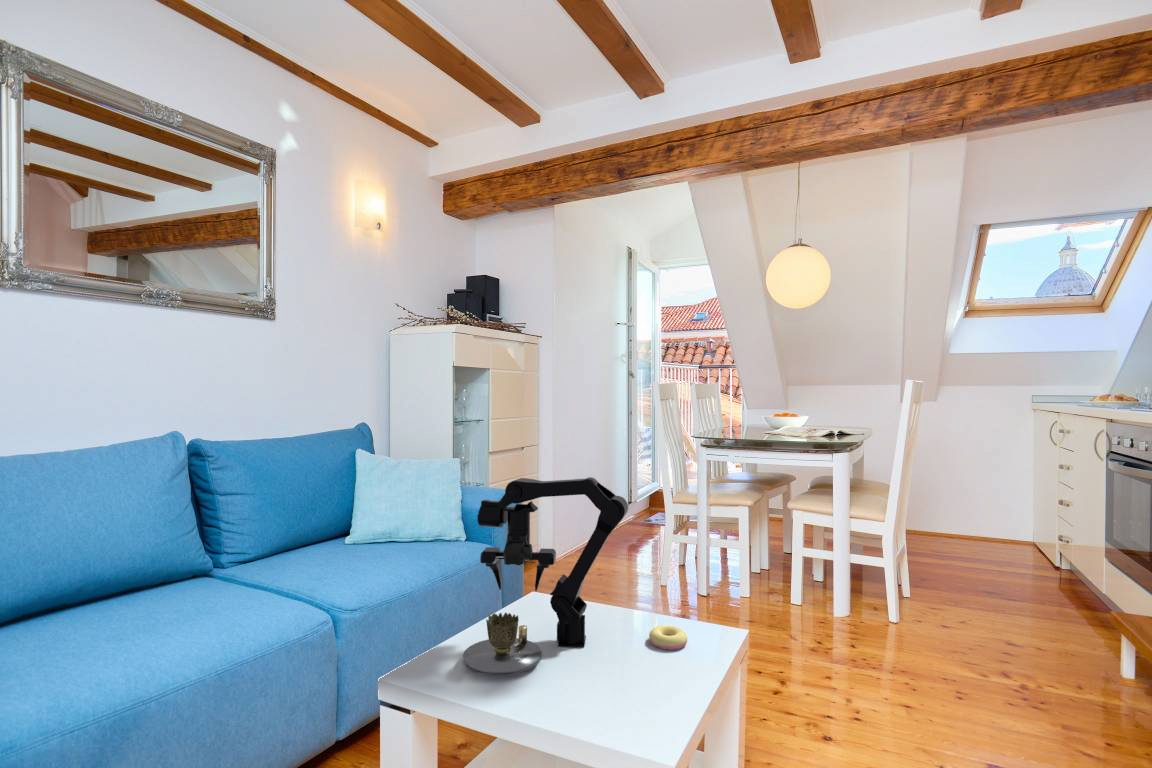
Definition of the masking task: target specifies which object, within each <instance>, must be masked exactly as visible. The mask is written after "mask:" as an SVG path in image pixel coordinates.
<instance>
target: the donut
mask: <svg viewBox="0 0 1152 768" xmlns="http://www.w3.org/2000/svg"><path fill="white" fill-rule="evenodd" d="M648 639H649V641H650V643H651V644H652V645H653V646H654V647H655V648H658V647H659V649H661V648H662V650H665V649H669V650H668V651H674V650H673V649H677V650H681V649H682V648H684V647H685V646H686V645H687V643H688V636H687V633H686V632H685V631H684V630H683V629H682V628H680V627H677V626H674V625H667V624H664V625H657V626H655V627H653V628H652V629H651V630H650V631H649V633H648Z"/></svg>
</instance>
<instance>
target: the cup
mask: <svg viewBox="0 0 1152 768" xmlns="http://www.w3.org/2000/svg"><path fill="white" fill-rule="evenodd" d="M487 618H488V619H487ZM487 618H486V619H485V621H486V628H487V629H486V630H487V631H486V632H487V637H488V639H489V641H490V643H491V645H492V646H494V647H495V649H494V650H495V653H496V654H498V655H506V654H508V653H509V652H510V650H511V648H510V646H512V645H513V644H514V642H515V640H516V638H517V636H518V630H519V615H516V614H515V613H513V615H512V614H511V613H510V612H504V614H503V613H502V612H500V613H499V614H497V613H493V614H492V615H488V617H487Z"/></svg>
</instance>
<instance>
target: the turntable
mask: <svg viewBox="0 0 1152 768" xmlns="http://www.w3.org/2000/svg"><path fill="white" fill-rule="evenodd" d="M510 648H511V650H510V652H509V653H508V654H506V655H498V654H496V653H495V650H494V649H495V647H494V646H492V645H491V643H490V641H489V638H488V639H484V640H481V641H478V642H476V643H474V644H471V645H470V646H468V647H467V648H465V650H464V651H463V653H462V663H463V664H464V666H465V667H466V668H467V669H469V670H470V671H473V672H475V673H479V674H483V675H490V676H499V675H500V676H501V675H502V676H503V675H504V676H505V675H513V674H518V673H521V672H525V671H528V670H530V669H532V668H534V667H535V666H536V665H538V664H539V663H540V662H541V660H542V659H543V658H542V654H543V653H542V651H543V650H542V649H541V647H540V646H539V645H538V644H537V643H535V642H533V641H531V640H528V626H527V625H525V624H524V625H523V624H522V625H518V637H516V640H515V642H514V644H513V645H512V646H510Z"/></svg>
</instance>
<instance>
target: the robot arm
mask: <svg viewBox="0 0 1152 768" xmlns="http://www.w3.org/2000/svg"><path fill="white" fill-rule="evenodd" d="M504 492H505V493H504V495H503V496H502V497H501V499H500V500H490V499H483V500H481V502H480V507H479V509H478V514H477V524H478V526H479V527H481V528H482V527H484V528H485V527H486V528H503V527H504V525H505V524H507V535H506V538H507V539H506V542H505V545H504V549H503V551H501V549H500V547H494V546H493V547H492V546H491V547H490V546H488V547H485V548H484V549H483V551H482V552H481V553H480V557H479V559H480V562H479V563H481V564H485V566H486V567H488V568H490V569H491V570H492V572H493V575H494V578H495V581H496V584H497V586H498V589H499V591H500V590H502V589H503V574H502V573H503V571H502V570H503V569H502V568H503V567H502V560H503V562H504V565H506V566H510V565H516V566H522V565H523V564H524V563H525V561H528V560H529V561H537V562H538V563H537V565H536V574H535V575H536V576H535V583H534V590H535V592H537V591H538V588H539V586H540V582H541V578H542V576H543V573H544V570H545V569H548V568H549V567H550V566H552V565H553V566H554V564H555V562H556V560H557V551H556V550H555V549H554V548H540V550H539V551H537V552H535V551H534V552H533V545H532V544H531V513H535V512H536V511H538V510H539V507H538V506H536V504H534V502H533V501H532V500H535V499H539V498H548V497H562V496H563V497H566V496H579V495H580V496H581V495H585V496H586V497H587V498H588V499H589V500H590V501H591V503H592V504H593V505H594V507H596V508H597V509H598V510H599V515H598V518H597V521H596V526H595V528H594V530H593V532H592V534H591V535H590V538H589V539H588V541H587V542H586V545H585V547H584V549H582V552H581V554H580V555H579V557H578V559H577V561H576V563H575V564H574V567H572V570H571V572H570V573H569V575H568V576H567V575H565V574H564V573H563V574H562V575H561V576H560V578H559V579H558V580H557V582H556V585H555V587H554V589H553V590H552V591H551V592H550V594H549V595H550V596H551V597H550V606H551V609H552V610H553V612H555V613H556V616H557V619H558V621H557V622H556V623H557V624H556V641H557V642H558V643H557V647H568V648H569V647H570V648H584V647H585V646H586V640H587V635H586V615H585V612H586V609H587V607H588V605H587V603H586V601H584V599H582V597H581V596H580V594H581V592H582V589H583V586H584V581H585V579H586V576H587V575H588V573H589V571H590V569H591V568H592V566H593V565H594V563H595V561H596V559H597V557H598V555H599V553H600V551H601V550H602V549H603V547H604V544H605V543H606V541H607V539H608V538H609V536H610V534H612V532H613V531H614V530H615V528H617V526H618V525H619V523H621V522H622V520H623V519H624V517H625V516H626V515H627V513H628V511H629V504H628V502H627V500H626V499H625V498H624V497H623V496H620V495H616V494H615V493H614V492H612V490H610V489H609V488H607V487H605V486H604V485H602V484H601V483H600V482H599V481H598V480H597V479H596V478H595V477H593V476H592V477H590V476H589V477H587V478H573V479H560V480H559V479H558V480H557V479H556V480H539V479H534V478H533V479H532V478H524V477H520V478H516V479H514V480H512V481H510V482H508V484H507V485H506V486H505V490H504ZM525 502H528V503H527V504H525ZM512 504H515V506H510V505H512Z"/></svg>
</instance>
